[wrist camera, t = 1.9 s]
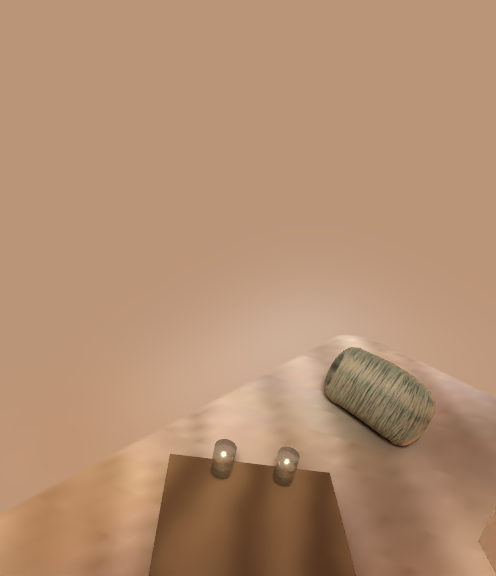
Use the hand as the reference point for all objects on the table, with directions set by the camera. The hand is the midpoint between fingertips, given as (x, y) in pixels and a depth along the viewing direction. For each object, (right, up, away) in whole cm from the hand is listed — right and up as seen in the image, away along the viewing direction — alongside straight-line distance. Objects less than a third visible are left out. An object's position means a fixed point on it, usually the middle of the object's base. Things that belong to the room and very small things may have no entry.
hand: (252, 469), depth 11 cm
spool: (+15, -12, +47) cm, 51 cm away
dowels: (0, -13, +33) cm, 35 cm away
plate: (0, -17, +27) cm, 32 cm away
